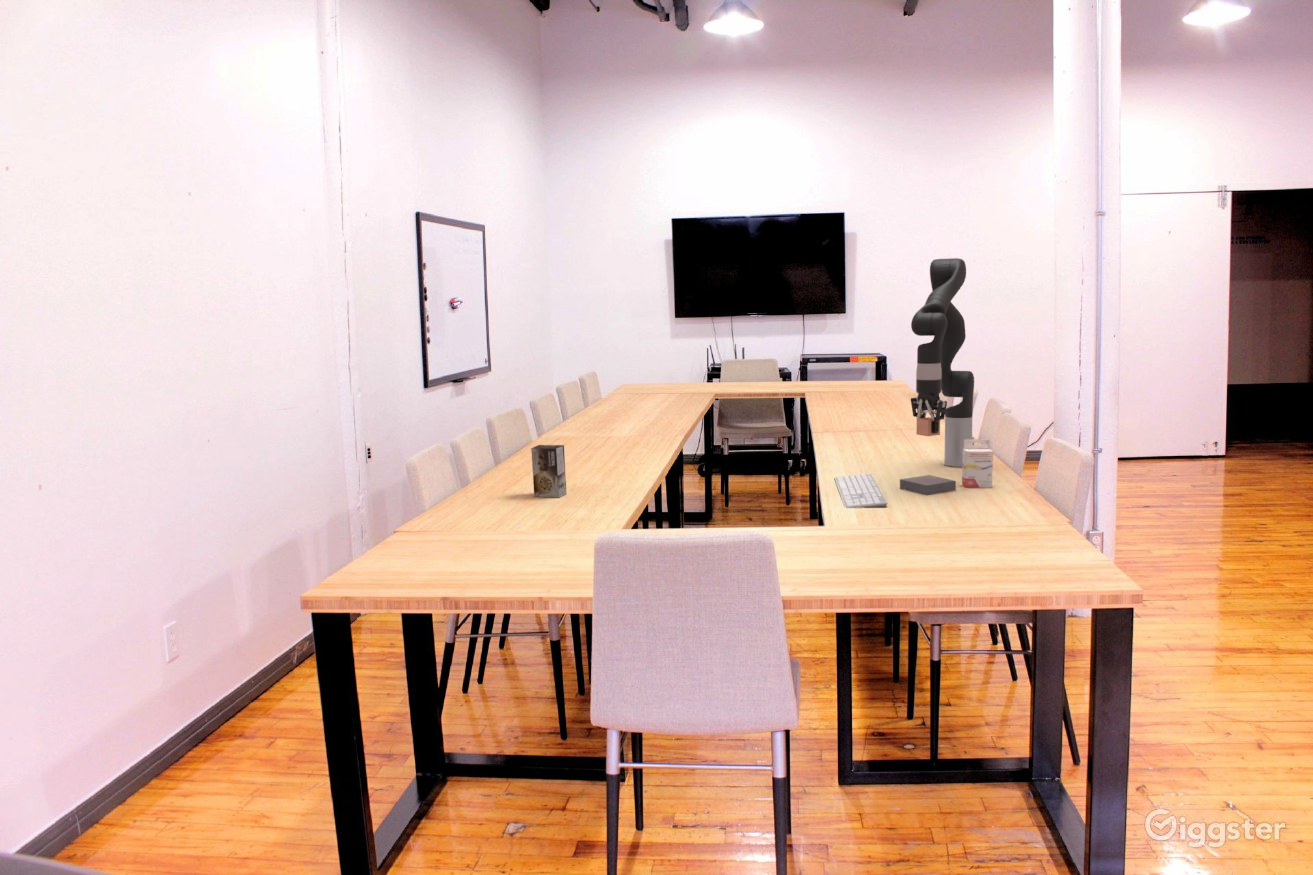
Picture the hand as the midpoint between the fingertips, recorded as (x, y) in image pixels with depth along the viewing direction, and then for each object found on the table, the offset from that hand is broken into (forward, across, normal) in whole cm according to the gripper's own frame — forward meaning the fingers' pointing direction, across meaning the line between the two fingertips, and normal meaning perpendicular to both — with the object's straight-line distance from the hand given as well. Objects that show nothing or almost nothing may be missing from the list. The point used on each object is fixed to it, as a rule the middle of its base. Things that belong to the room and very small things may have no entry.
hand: (928, 431), depth 316 cm
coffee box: (+19, +63, +102) cm, 121 cm away
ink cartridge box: (+19, -5, -16) cm, 25 cm away
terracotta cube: (+1, 0, 0) cm, 1 cm away
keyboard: (+19, +9, +20) cm, 29 cm away
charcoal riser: (+18, 0, 0) cm, 18 cm away
